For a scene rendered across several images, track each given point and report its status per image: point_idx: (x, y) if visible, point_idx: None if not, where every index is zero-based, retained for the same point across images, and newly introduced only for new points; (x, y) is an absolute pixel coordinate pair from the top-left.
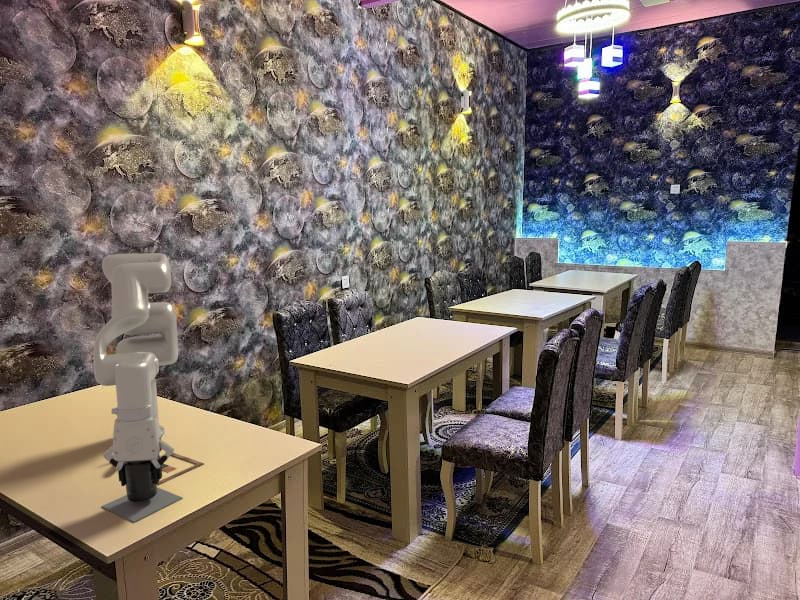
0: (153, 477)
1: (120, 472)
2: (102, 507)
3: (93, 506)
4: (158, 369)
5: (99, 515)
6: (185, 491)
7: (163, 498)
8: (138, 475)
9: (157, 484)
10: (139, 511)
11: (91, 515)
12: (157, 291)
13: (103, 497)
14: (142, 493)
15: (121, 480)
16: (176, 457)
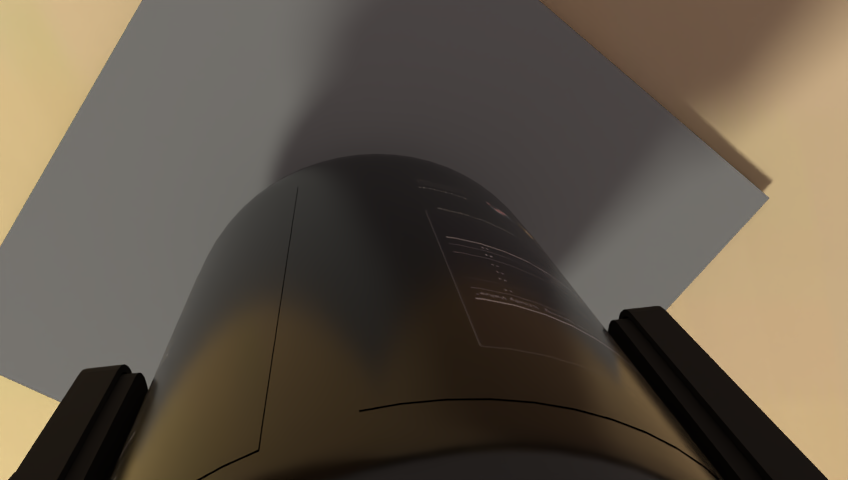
0: (98, 444)
1: (808, 465)
2: (753, 185)
3: (839, 216)
4: None
5: (748, 24)
6: (11, 475)
7: (163, 329)
8: (322, 356)
9: None
10: (317, 52)
11: (829, 31)
12: None
13: (779, 370)
14: (292, 198)
15: (697, 357)
16: None
